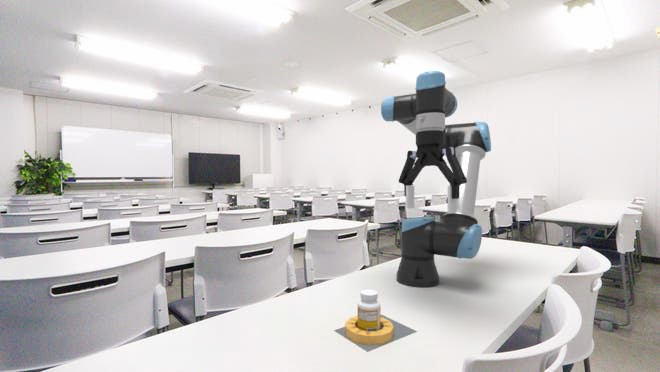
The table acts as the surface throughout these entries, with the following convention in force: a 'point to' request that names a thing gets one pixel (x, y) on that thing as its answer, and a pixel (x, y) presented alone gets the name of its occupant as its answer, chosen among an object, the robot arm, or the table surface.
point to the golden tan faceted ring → (371, 336)
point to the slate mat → (399, 333)
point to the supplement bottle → (369, 311)
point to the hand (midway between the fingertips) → (429, 210)
